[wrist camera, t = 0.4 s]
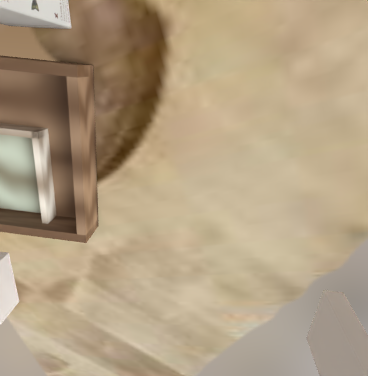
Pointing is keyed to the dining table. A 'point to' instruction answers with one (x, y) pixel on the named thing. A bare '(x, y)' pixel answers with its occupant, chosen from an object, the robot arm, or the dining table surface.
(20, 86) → the crate
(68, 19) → the supplement box
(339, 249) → the dining table surface
